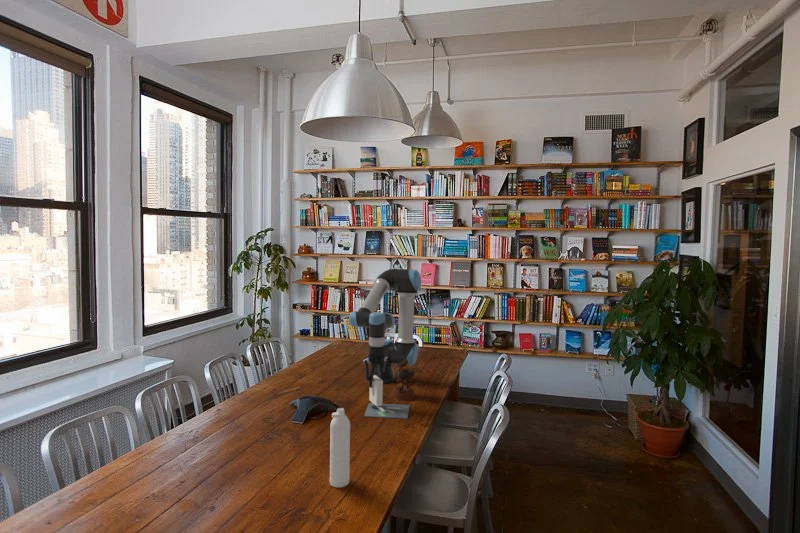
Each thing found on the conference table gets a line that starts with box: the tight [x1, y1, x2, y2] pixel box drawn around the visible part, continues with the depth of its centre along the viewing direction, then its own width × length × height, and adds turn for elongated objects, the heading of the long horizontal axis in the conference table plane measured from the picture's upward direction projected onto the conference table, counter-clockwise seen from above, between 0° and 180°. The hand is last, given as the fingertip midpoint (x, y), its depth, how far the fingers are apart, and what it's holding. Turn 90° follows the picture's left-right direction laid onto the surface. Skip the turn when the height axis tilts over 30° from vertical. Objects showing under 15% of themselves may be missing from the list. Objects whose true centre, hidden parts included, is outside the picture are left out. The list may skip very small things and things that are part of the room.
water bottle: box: [329, 407, 351, 488], centre depth 146 cm, size 9×6×25 cm
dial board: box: [363, 402, 410, 420], centre depth 211 cm, size 16×20×1 cm
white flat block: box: [368, 375, 385, 413], centre depth 211 cm, size 4×14×14 cm, turn 26°
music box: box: [393, 360, 415, 401], centre depth 231 cm, size 15×11×20 cm
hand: (375, 393), depth 214 cm, fingers closed on white flat block, 3 cm apart
